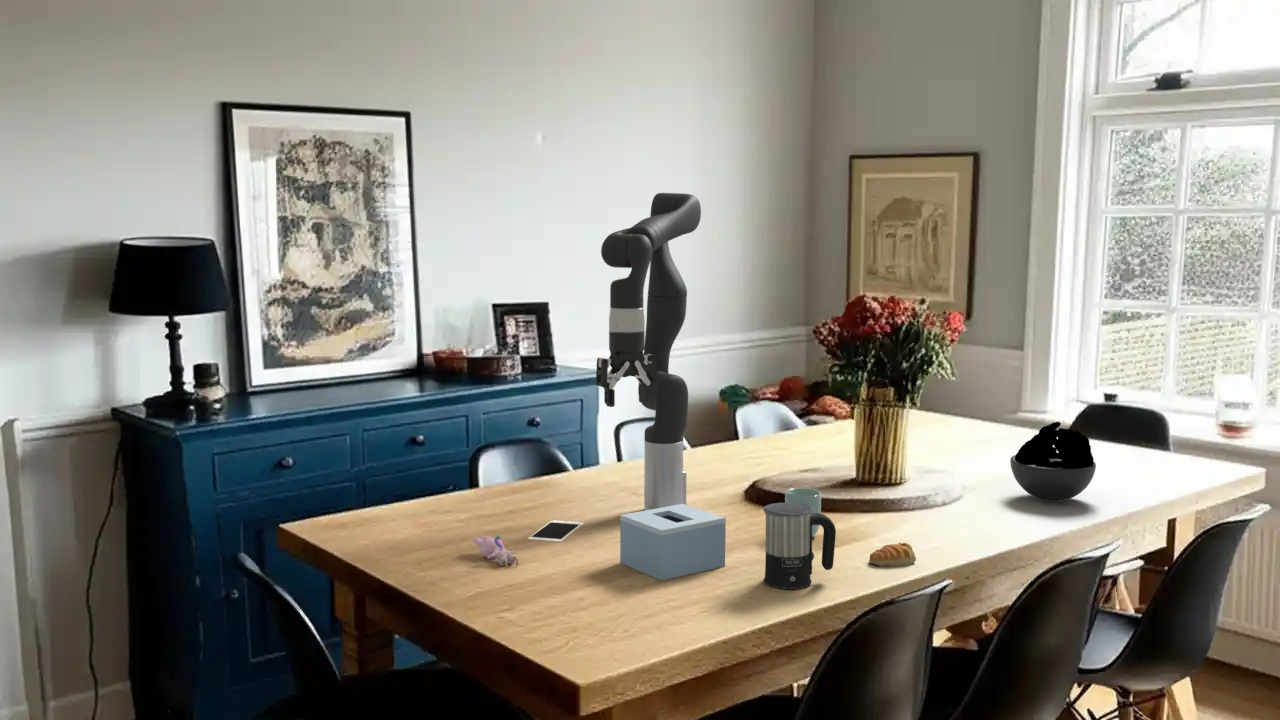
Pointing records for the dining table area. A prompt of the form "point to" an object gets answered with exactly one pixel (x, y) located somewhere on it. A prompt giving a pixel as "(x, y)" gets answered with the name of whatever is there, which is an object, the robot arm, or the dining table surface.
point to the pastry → (893, 555)
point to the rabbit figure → (495, 550)
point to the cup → (806, 501)
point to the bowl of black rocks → (1054, 464)
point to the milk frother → (794, 544)
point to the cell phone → (556, 531)
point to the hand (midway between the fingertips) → (626, 404)
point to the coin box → (672, 541)
